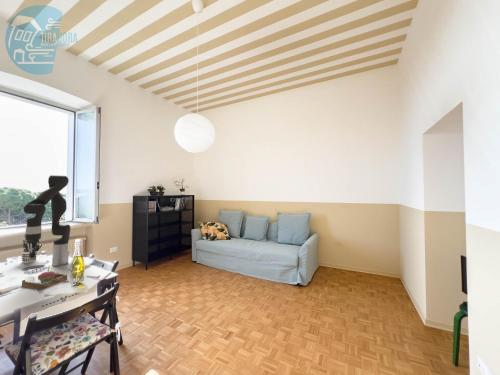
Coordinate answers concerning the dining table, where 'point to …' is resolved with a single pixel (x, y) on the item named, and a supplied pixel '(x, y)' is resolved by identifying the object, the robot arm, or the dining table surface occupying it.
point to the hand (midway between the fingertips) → (32, 257)
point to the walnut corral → (40, 286)
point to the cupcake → (46, 276)
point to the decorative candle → (27, 254)
